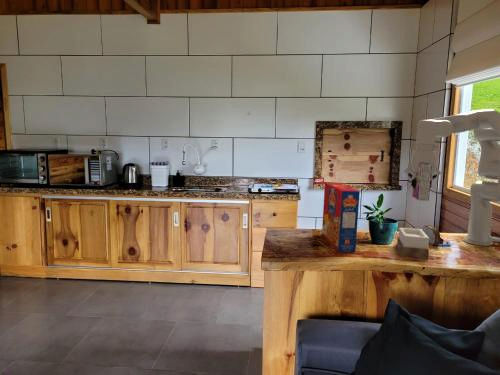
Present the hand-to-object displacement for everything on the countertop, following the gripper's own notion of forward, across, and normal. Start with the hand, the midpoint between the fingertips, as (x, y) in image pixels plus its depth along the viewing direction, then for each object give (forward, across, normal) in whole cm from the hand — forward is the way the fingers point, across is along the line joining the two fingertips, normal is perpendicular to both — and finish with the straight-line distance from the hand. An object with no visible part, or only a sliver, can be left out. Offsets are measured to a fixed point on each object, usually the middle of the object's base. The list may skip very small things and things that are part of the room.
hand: (420, 188), depth 169 cm
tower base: (+30, +1, 0) cm, 30 cm away
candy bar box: (+5, 0, 0) cm, 5 cm away
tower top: (+26, +1, 0) cm, 26 cm away
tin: (+30, -8, -20) cm, 37 cm away
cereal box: (+30, +35, +2) cm, 46 cm away
